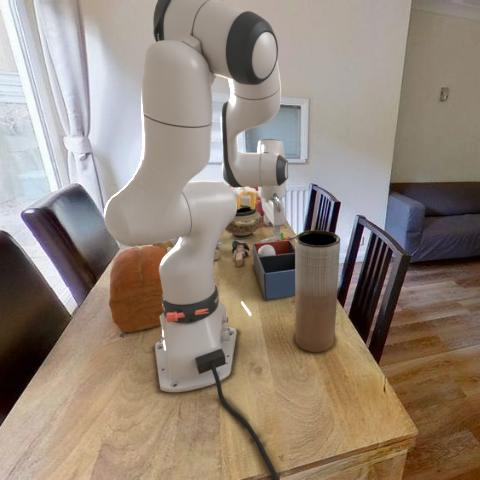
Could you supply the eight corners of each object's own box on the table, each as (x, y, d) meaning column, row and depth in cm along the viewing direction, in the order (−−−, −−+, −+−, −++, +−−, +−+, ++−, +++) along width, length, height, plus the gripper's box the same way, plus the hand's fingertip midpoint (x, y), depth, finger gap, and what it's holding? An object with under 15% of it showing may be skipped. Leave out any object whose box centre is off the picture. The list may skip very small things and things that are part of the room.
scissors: (304, 233, 147) (304, 230, 146) (280, 249, 129) (280, 245, 129) (290, 231, 150) (290, 228, 149) (265, 246, 132) (265, 242, 132)
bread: (174, 276, 105) (167, 233, 99) (184, 320, 84) (176, 268, 78) (119, 287, 98) (107, 241, 92) (114, 338, 76) (99, 282, 70)
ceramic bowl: (224, 233, 151) (213, 205, 144) (258, 221, 156) (249, 193, 149) (232, 253, 130) (220, 221, 123) (272, 238, 135) (262, 207, 128)
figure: (214, 200, 139) (213, 180, 136) (251, 197, 149) (252, 178, 146) (227, 212, 126) (227, 190, 123) (267, 208, 136) (268, 187, 133)
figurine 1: (217, 236, 141) (216, 224, 138) (171, 257, 120) (169, 243, 118) (196, 230, 146) (194, 218, 143) (148, 249, 125) (146, 236, 123)
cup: (256, 237, 121) (294, 230, 123) (258, 236, 129) (293, 230, 131) (260, 257, 122) (297, 249, 124) (262, 254, 130) (297, 248, 131)
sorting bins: (308, 293, 98) (309, 268, 95) (264, 300, 94) (263, 274, 90) (290, 261, 119) (290, 239, 116) (253, 265, 115) (252, 243, 111)
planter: (325, 323, 84) (329, 228, 74) (340, 347, 76) (348, 243, 65) (290, 331, 81) (289, 232, 70) (302, 357, 72) (303, 248, 62)
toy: (264, 238, 169) (288, 226, 172) (256, 219, 141) (285, 205, 143) (241, 197, 176) (265, 185, 178) (229, 170, 147) (257, 157, 150)
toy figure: (254, 265, 116) (248, 247, 128) (251, 250, 113) (245, 234, 126) (234, 269, 114) (231, 251, 127) (231, 254, 111) (228, 238, 124)
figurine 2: (226, 240, 127) (221, 252, 127) (218, 238, 132) (213, 249, 131) (209, 234, 122) (203, 246, 121) (201, 231, 126) (196, 243, 126)
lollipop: (284, 271, 114) (268, 261, 101) (270, 268, 116) (252, 258, 102) (289, 255, 116) (273, 243, 102) (275, 253, 118) (258, 241, 104)
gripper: (289, 197, 93) (290, 240, 98) (275, 184, 110) (276, 221, 116) (268, 199, 91) (270, 242, 96) (257, 185, 108) (259, 222, 113)
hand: (273, 230), depth 106 cm, fingers open, 8 cm apart
